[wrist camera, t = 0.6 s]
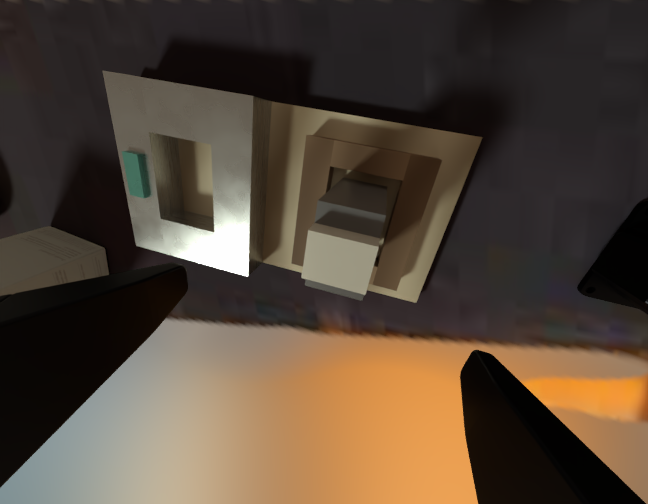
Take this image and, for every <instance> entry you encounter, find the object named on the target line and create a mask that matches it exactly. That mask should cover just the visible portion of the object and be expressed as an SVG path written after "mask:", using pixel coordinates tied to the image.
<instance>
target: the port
mask: <svg viewBox="0 0 648 504" xmlns="http://www.w3.org/2000/svg"><path fill="white" fill-rule="evenodd" d="M103 75H104V81H105V86H106V91H107V96H108V102H109V107H110V112H111V117H112V122H113V128H114V133H115V138H116V143H117V148H118V154H119V159H120V164H121V169H122V175H123V180H124V185H125V190H126V195H127V201H128V206H129V211H130V216H131V221H132V227H133V232H134V237H135V242H136V246H139V247H143V248H146V249H150V250H153V251H157V252H161V253H164V254H168V255H172V256H175V257H179V258H182V259H186V260H190V261H193V262H197V263H201V264H204V265H208V266H212V267H215V268H219V269H222V270H226V271H230V272H233V273H237V274H241V275H244V276H249V275H250V274H251V273H252V272H253V271H254V270H255V269H256V268H257V267H258V266H259V265H260V264H261V263H262V262H263V244H264V227H265V210H266V192H267V175H268V157H269V140H270V122H271V105H272V101H268V100H265V99H262V98H258V97H255V96H250V95H244V94H238V93H232V92H227V91H221V90H215V89H209V88H203V87H197V86H191V85H185V84H179V83H173V82H167V81H161V80H155V79H150V78H144V77H138V76H132V75H126V74H120V73H114V72H108V71H103ZM178 138H181V139H186V140H191V141H196V142H201V143H206V144H211V155H212V181H213V208H214V217H210V216H206V215H202V214H197V213H193V212H189V211H185V210H184V201H183V190H182V179H181V168H180V157H179V146H178Z"/></svg>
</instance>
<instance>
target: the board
mask: <svg viewBox="0 0 648 504" xmlns="http://www.w3.org/2000/svg"><path fill="white" fill-rule="evenodd" d="M306 135H316V136H321V137H326V138H332V139H337V140H343V141H348V142H353V143H359V144H364V145H370V146H375V147H380V148H386V149H391V150H397V151H402V152H407V153H413V154H418V155H424V156H429V157H434V158H439V159H441V160H442V162H441V165H440V168H439V171H438V174H437V177H436V180H435V182H434V185H433V188H432V191H431V194H430V197H429V200H428V202H427V205H426V208H425V211H424V214H423V217H422V220H421V223H420V225H419V228H418V231H417V234H416V237H415V240H414V243H413V245H412V248H411V251H410V254H409V257H408V260H407V263H406V265H405V268H404V271H403V274H402V277H401V280H400V283H399V285H398V288H397V291H394V290H391V289H387V288H383V287H379V286H375V285H371V284H368V287H367V290H369V291H373V292H377V293H380V294H384V295H388V296H392V297H396V298H399V299H403V300H407V301H411V302H414V303H416V302H417V299H418V297H419V294H420V292H421V289H422V287H423V285H424V282H425V280H426V277H427V275H428V272H429V270H430V267H431V265H432V262H433V260H434V257H435V255H436V252H437V250H438V247H439V245H440V242H441V240H442V237H443V235H444V232H445V230H446V227H447V225H448V222H449V220H450V217H451V215H452V212H453V210H454V207H455V205H456V202H457V200H458V197H459V195H460V192H461V190H462V187H463V185H464V182H465V180H466V177H467V175H468V172H469V170H470V167H471V165H472V162H473V160H474V158H475V155H476V153H477V150H478V148H479V145H480V143H481V140H482V138H483V137H477V136H472V135H466V134H460V133H454V132H448V131H442V130H436V129H430V128H425V127H419V126H413V125H407V124H401V123H395V122H389V121H383V120H378V119H372V118H366V117H360V116H354V115H348V114H342V113H336V112H331V111H325V110H319V109H313V108H307V107H301V106H295V105H289V104H284V103H278V102H272V105H271V122H270V140H269V157H268V175H267V192H266V210H265V227H264V244H263V263H267V264H271V265H275V266H279V267H282V268H286V269H290V270H294V271H297V272H301V273H302V270H303V266H299V265H295V264H291V262H292V253H293V245H294V236H295V228H296V219H297V210H298V202H299V193H300V185H301V176H302V167H303V159H304V150H305V141H306ZM178 146H179V157H180V168H181V179H182V190H183V201H184V210H185V211H189V212H193V213H197V214H202V215H206V216H210V217H214V208H213V181H212V155H211V144H206V143H201V142H196V141H191V140H186V139H181V138H178ZM343 177H344V178H349V179H354V180H359V181H363V182H368V183H373V184H378V185H383V186H387V206H386V218H385V221H384V225H383V229H382V232H381V236H380V241H379V249H378V252H377V256H376V258H379V254H380V251H381V247H382V244H383V241H384V237H385V234H386V230H387V227H388V223H389V220H390V216H391V213H392V209H393V206H394V203H395V199H396V196H397V192H398V189H399V185H400V182H401V180H396V179H391V178H386V177H381V176H376V175H371V174H367V173H362V172H357V171H352V170H347V169H342V168H337V167H334V171H333V177H332V183H331V188H332V187H333V186H334V185H335V184H337V183H338V182H339V181H340V180H341V179H342V178H343ZM331 188H330V189H331Z"/></svg>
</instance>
